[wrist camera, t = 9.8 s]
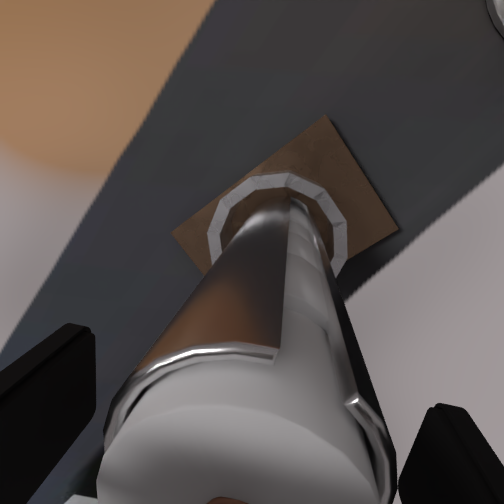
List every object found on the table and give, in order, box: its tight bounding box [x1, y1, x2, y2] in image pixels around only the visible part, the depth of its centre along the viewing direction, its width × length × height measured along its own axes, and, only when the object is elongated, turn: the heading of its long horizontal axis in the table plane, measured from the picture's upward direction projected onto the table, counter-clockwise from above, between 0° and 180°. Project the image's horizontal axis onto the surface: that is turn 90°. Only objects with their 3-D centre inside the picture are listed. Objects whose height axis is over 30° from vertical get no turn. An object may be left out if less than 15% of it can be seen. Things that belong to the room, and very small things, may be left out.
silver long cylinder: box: [96, 196, 398, 504], centre depth 18 cm, size 6×6×25 cm
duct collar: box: [171, 115, 398, 278], centre depth 28 cm, size 18×12×6 cm, turn 126°
